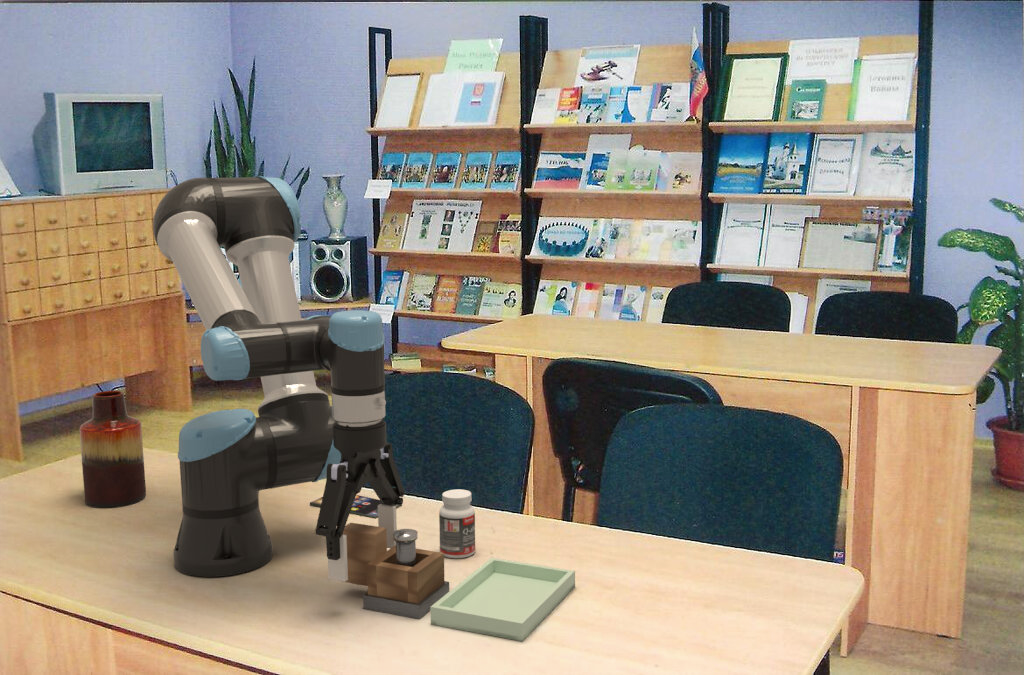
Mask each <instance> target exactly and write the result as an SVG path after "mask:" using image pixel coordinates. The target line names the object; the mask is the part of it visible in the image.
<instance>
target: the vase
mask: <svg viewBox="0 0 1024 675" xmlns="http://www.w3.org/2000/svg"><path fill="white" fill-rule="evenodd" d="M79 440H80V442H79V443H80V451H81V452H80V453H81V467H82V468H81V469H82V478H83V479H82V480H83V492H84V502H85V504H86V505H87V506H88V507H91V508H98V509H99V508H100V509H111V508H114V509H115V508H122V507H126V506H130V505H134V504H136V503H140V502H141V501H143V500H145V498H146V495H147V489H146V488H147V487H146V476H145V461H144V460H145V458H144V457H145V456H144V445H143V443H144V442H143V430H142V422H141V421H140V419H138V418H136V417H134V416H130V415H128V411H127V405H126V400H125V393H124V391H121V390H104V391H98V392H95V393H93V394H92V418H91V419H89V420H87V421H85V422H84V423H82V424H81V425H80V427H79Z"/></svg>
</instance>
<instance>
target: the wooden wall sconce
mask: <svg viewBox="0 0 1024 675" xmlns="http://www.w3.org/2000/svg"><path fill="white" fill-rule="evenodd" d="M342 535H346V539H347V567H348V580H347V581H346V582H345V583H348V584H353V585H357V586H359V585H360V586H365V587H367V592H368V595H374V596H379V597H385V598H390V599H396V600H401V601H407V602H412V603H419V602H420V601H422V600H423V599H424V598H425V597H427V596H428V595H429V594H431V593H432V592H433V591H434V590H436V589H437V588H438V587H439V586H441V585H442V584H443V583H445V556H444V553H441V552H440V551H434V550H427V549H422V548H416V565H415V566H414V567H409V566H403V565H397V564H396V545H395V546H394V547H392V548H391V549H390V548H387V534H386V528H384V527H378V526H377V525H369V524H365V523H364V524H362V523H356V522H349V523H348V524H347V523H346V525H345V528H344V531H343V534H342ZM341 583H344V582H343V581H341Z"/></svg>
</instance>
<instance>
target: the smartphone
mask: <svg viewBox="0 0 1024 675" xmlns="http://www.w3.org/2000/svg"><path fill="white" fill-rule="evenodd" d="M322 498H323V496H321V497H320V498H317V499H314V500H313V501H310V502H309V506H310V507H314V508H319V509H320V507H321V503H322ZM379 504H384V503H382V502H381V501H380V499H379V498H378V499H377V498H372V497H368V496H363V495H359V494H356V497H355V499H354V502H353V505H352V508H351V511H350V514H349V515H355V516H359V517H365V518H370V519H378V505H379ZM402 506H403V504H402V505H396V510H397V509H399V508H401V507H402Z"/></svg>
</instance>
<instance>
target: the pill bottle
mask: <svg viewBox="0 0 1024 675" xmlns="http://www.w3.org/2000/svg"><path fill="white" fill-rule="evenodd" d="M472 498H473V497H472V492H471V491H470V490H466V489H459V488H458V489H457V488H456V489H449V490H446V491H444V492H442V494H441V500H442V503H443V505H442V506H441V507H440V508H439V513H438V515H439V516H438V517H439V522H438V523H439V527H438V528H439V552H441V553H444V558H445V557H446V558H450V559H464V558H468V557H471V556H472V555H473V554H475V551H476V512H475V511H476V510H475V508H474V506H473V505H472V504H471V503H472Z"/></svg>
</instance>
